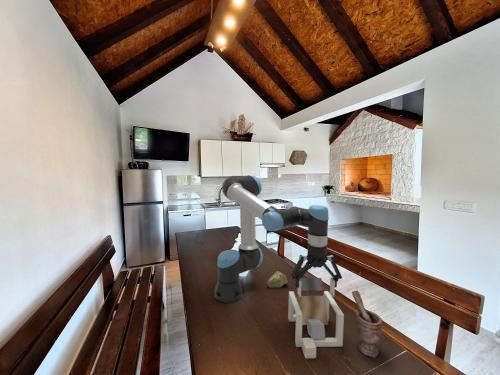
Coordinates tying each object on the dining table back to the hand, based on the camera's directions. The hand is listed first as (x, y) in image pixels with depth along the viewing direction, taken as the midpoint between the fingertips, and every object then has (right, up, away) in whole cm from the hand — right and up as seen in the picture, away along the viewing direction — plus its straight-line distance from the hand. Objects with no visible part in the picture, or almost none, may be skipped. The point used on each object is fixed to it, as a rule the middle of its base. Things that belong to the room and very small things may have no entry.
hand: (315, 294), depth 88 cm
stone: (0, -15, +3) cm, 15 cm away
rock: (-12, -14, +40) cm, 44 cm away
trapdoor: (0, -6, +7) cm, 10 cm away
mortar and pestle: (+17, -18, -5) cm, 25 cm away
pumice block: (-5, -18, -8) cm, 20 cm away
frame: (0, -17, +3) cm, 17 cm away
